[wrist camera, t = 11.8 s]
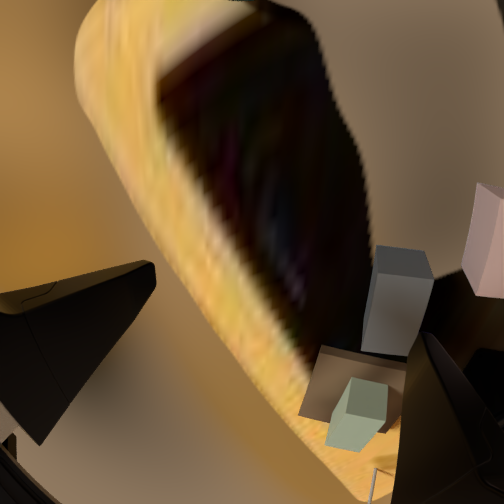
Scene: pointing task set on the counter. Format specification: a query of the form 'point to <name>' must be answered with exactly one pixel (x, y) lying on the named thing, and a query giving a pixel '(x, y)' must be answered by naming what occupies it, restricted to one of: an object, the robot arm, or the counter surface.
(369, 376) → the walnut board
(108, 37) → the counter surface
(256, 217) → the counter surface
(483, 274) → the rose brick
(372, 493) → the lollipop
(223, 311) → the counter surface
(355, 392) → the sage brick
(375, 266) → the charcoal brick
